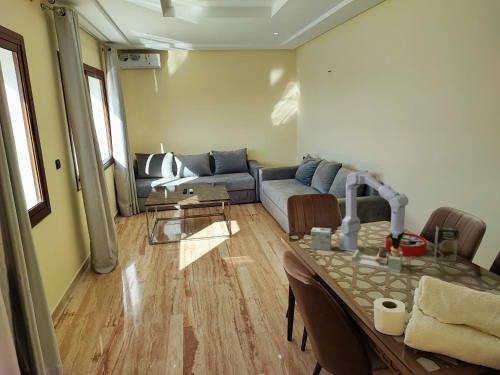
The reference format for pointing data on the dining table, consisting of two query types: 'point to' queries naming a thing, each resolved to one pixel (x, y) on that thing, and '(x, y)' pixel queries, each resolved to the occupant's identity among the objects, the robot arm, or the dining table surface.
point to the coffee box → (446, 243)
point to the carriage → (382, 255)
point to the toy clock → (409, 245)
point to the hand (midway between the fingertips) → (396, 247)
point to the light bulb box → (321, 238)
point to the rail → (369, 261)
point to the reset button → (396, 251)
